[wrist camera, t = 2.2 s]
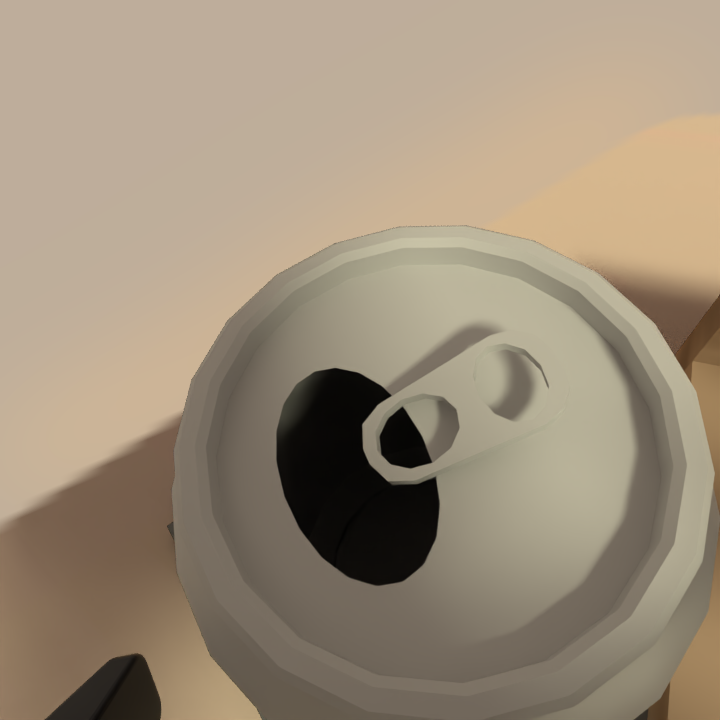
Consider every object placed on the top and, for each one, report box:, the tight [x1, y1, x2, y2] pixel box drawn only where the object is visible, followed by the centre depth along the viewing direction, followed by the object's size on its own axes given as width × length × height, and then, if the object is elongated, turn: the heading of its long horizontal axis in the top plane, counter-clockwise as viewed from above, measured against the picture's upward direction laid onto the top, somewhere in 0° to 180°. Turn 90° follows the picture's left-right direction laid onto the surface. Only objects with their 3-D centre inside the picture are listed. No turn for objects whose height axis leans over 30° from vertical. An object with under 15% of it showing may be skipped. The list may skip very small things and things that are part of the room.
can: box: [172, 226, 720, 720], centre depth 12 cm, size 8×8×12 cm
